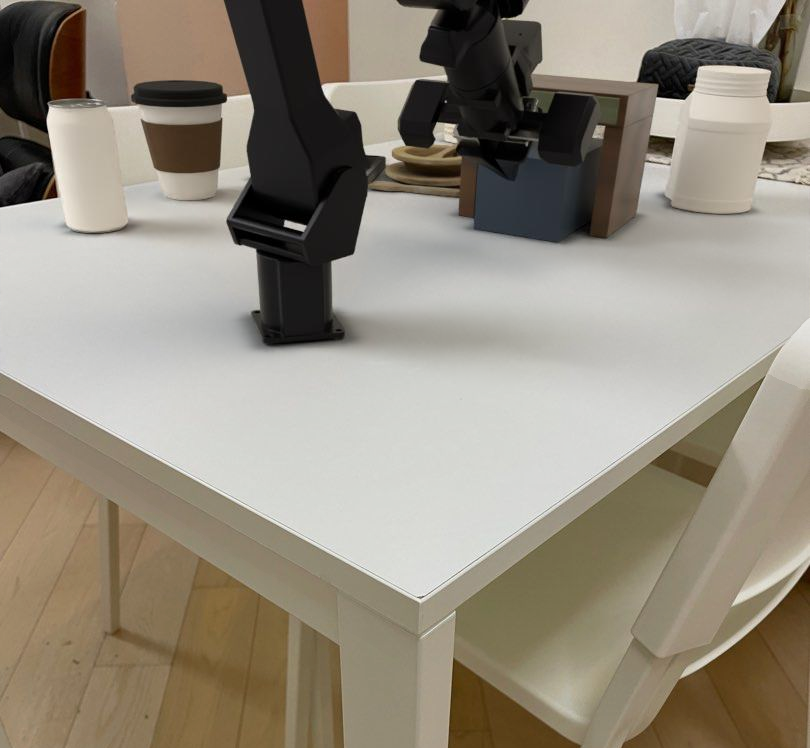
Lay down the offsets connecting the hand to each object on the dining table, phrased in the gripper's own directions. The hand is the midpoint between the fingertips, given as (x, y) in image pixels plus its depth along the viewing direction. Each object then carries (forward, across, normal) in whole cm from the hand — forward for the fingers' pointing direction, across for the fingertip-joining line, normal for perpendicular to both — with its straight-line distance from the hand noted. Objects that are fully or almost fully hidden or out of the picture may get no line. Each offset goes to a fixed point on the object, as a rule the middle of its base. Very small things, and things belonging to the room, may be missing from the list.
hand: (512, 176), depth 88 cm
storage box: (+12, 0, -3) cm, 12 cm away
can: (-9, +40, +19) cm, 45 cm away
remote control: (+17, +31, -9) cm, 37 cm away
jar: (+26, -15, -17) cm, 34 cm away
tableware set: (+20, +28, -10) cm, 36 cm away
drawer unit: (+14, 0, -4) cm, 14 cm away
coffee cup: (+3, +41, +7) cm, 42 cm away
